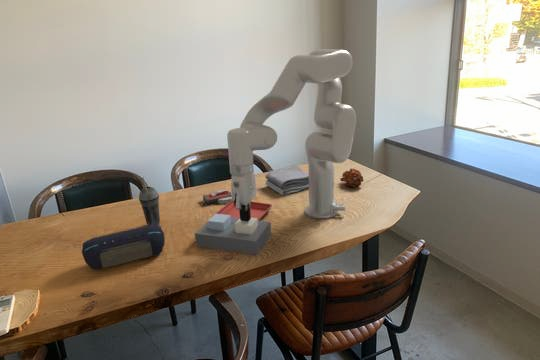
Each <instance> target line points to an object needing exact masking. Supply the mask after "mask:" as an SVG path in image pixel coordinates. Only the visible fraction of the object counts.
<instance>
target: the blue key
mask: <svg viewBox="0 0 540 360" xmlns="http://www.w3.org/2000/svg"><path fill="white" fill-rule="evenodd" d="M214 214H215V213H214ZM214 214H213V215H214ZM213 215H212V216H211V217H210V218H209V219H208V220H207V221H208V227H209V229H210V230H218V231H226V229H227V228H228V227H229V226H230V225H231V215H224V214H215V215H214V216H213Z"/></svg>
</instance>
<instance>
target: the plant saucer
mask: <svg viewBox="0 0 540 360" xmlns="http://www.w3.org/2000/svg"><path fill="white" fill-rule="evenodd" d="M241 205H242V204H241ZM272 207H273V204H272V203H264V202H258V201H251V202H250V214H251V218H258V220H259V221H261V219H262V218H264V217H265V215H267V214H268V213H269V211H270V210H271V209H272ZM215 214H224V215H231V217H232V218H240V211H239V210H238V209H236V204H233V201H232V200H231V201H230V202H229V203H227V204H224V206H222V208H220V209H219V210H218V211H217V212H215V213H214V214H213V215H212V216H214V215H215Z"/></svg>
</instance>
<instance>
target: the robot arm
mask: <svg viewBox="0 0 540 360" xmlns="http://www.w3.org/2000/svg"><path fill="white" fill-rule="evenodd" d="M353 62H354V61H353V57H352V55H351V53H350V52H348V51H347V50H345V49H321V48H320V49H315V50H313V51H311V52H310V53H309V54H306V55H305V54H301V55H294V56H293V57H290V59H289V60H288V61H287V63H286V65H285V66H284V68H283V70H282V72H281V73H280V75H279V76H278V78H277V79H276V81H275V83H274V85H273V87H272V89H271V90H270V91H269V92H267V94H266V95H264V96H263V97H262V98H261V99H259V101H257V102H256V103H255V104H254V105H253V106H252V107H251V108H250V109H249V110H248V111H247V113H246V115H245V116H244V118H243V120H242V122H241V123H240V126H239V127H238V128H237V127H236V128H232V129H230V130H228V132H227V134H226V135H227V151H228V160H229V161H228V163H229V173H230V175H231V181H230V182H231V184H230V185H231V186H230V187H231V188H230V189H231V195H232V201H233V204H236V209H238V210H239V211H240V220H241V221H249V220H250V219H251V214H250V202H253V200H254V199H255V197H257V182H256V176H255V175H256V174H255V170H254V151H263V150H264V151H266V150H269V149H271V148H272V147H274V146H275V145H276V143H277V141H278V133H277V132H276V130H275V129H274V128H272V127H271V126H269V125H266V124H265V125H264V123H265V122H266V121H267V120H269V118H270V117H272V116H273V115H275V114H277V113H279V112H282V111H285V110H288V109H290V108H292V107H293V106H294V104H295V103H296V100H297V98H298V97H299V95H300V93H301V92H302V90H303V88H304V87H305V85H306V84H317V87H318V88H317V96H316V101H315V102H316V103H315V107H314V114H313V115H314V116H313V121H314V124H315V126H316V127H318V128H322V129H325V130H330V131H332V133H329V132H325V131H313V132H311V133H310V134H308V135H307V137H306V140H305V143H304V145H305V146H304V148H305V154H306V158H307V164H308V166H307V167H308V174H309V188H308V205H306V207H304V208H305V209H304V210H305V214H306V215H307V216H309V217H311V218H314V219H324V220H325V219H329V218H332V217H335V216H337V215H338V212H339V211H340V212H345V211H346V205H344V203H337V199H335V165H334V164H342V163H344V162H346V161H347V160H348V158H349V157H350V155H351V151H352V148H353V147H352V146H353V141H354V137H355V131H356V126H357V115H356V114H357V113H356V111H355V109H354V108H353V107H352V106H351V105H348V104H346V103H342V96H343V95H342V94H343V85H342V84H343V83H342V81H341V78H343V77H345V76H347V75H348V74H349V73H350V71H351V70H352V67H353V65H354V64H353ZM241 204H242V205H241Z"/></svg>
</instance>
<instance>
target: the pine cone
mask: <svg viewBox="0 0 540 360" xmlns="http://www.w3.org/2000/svg"><path fill="white" fill-rule="evenodd" d="M341 177H342V178H341ZM341 177H340V178H339V179H340V182H344V183H345V185H346V186H347V187H353V188H357V187H359V186H361V185H362V182H364V176H363V175H362V172H361V171H360V170H358V169H356V168H351V167H350V168H349V170H345V171H344V172H342V176H341Z"/></svg>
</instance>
